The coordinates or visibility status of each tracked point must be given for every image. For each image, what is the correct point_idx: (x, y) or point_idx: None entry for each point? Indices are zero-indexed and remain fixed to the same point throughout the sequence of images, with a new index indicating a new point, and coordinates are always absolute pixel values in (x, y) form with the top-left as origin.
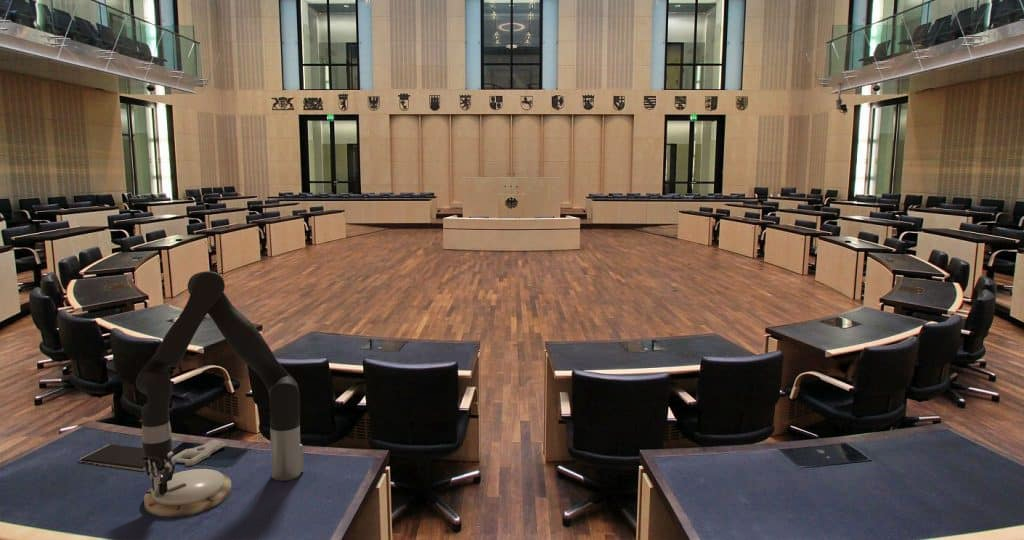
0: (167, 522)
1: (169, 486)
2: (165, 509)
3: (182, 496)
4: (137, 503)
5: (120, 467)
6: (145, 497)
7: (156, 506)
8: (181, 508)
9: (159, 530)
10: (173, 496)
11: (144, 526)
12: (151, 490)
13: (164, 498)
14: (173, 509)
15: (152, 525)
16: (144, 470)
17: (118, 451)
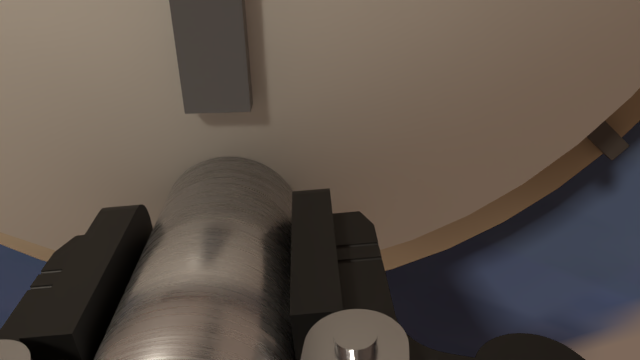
0: (583, 221)
1: (44, 16)
2: (482, 220)
3: (543, 38)
4: (4, 249)
5: None
6: (33, 244)
7: None
8: (631, 103)
9: (634, 305)
10: (429, 126)
11: (469, 347)
12: (17, 236)
13: (378, 220)
14: (562, 169)
15: (511, 309)
16: None
17: None
